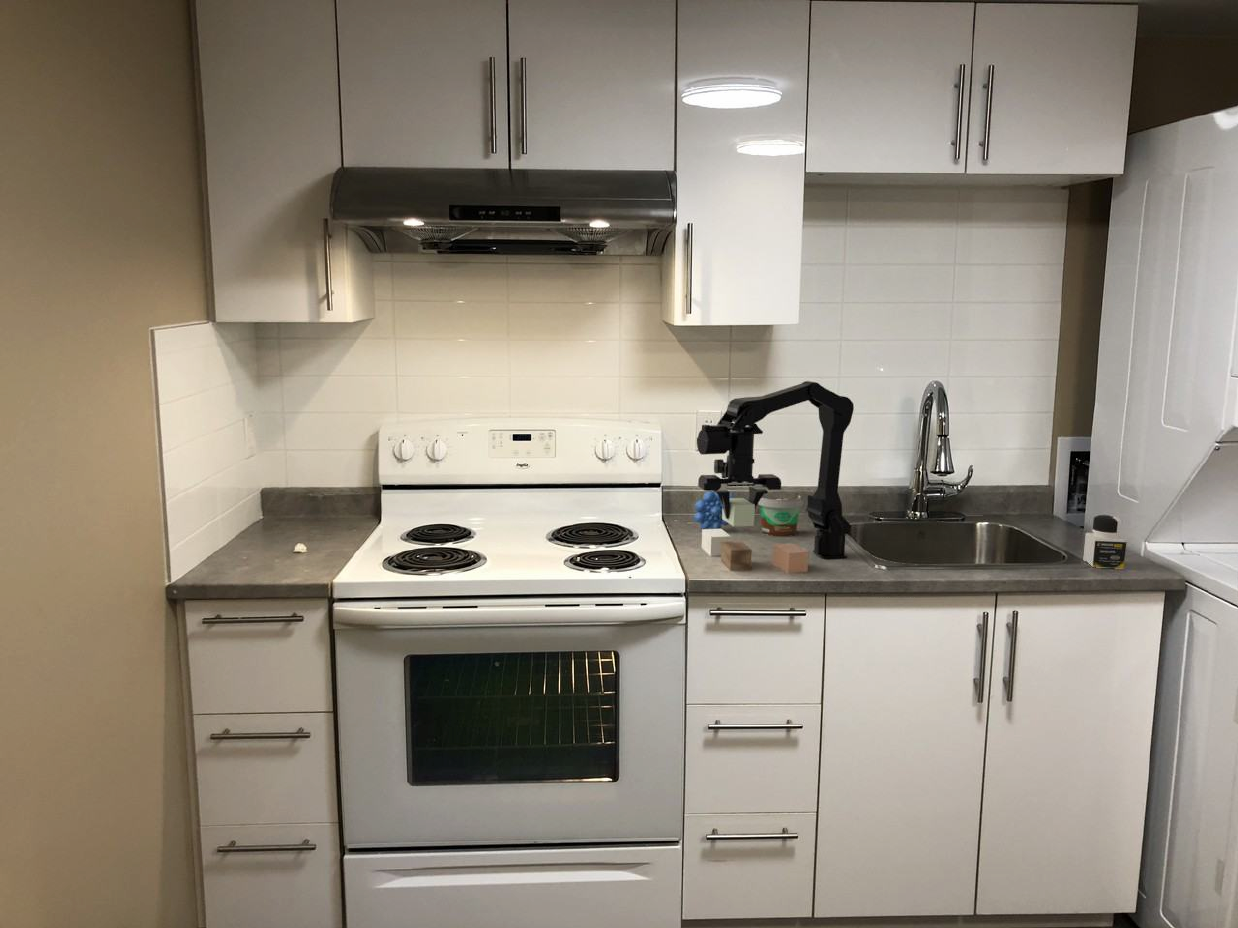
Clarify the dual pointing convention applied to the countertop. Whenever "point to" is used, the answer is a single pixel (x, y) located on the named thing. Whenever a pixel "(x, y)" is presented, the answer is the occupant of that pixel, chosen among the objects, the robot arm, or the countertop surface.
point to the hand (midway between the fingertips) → (738, 518)
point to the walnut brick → (736, 555)
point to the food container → (780, 515)
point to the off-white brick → (714, 541)
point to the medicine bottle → (1105, 543)
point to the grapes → (710, 511)
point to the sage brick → (740, 512)
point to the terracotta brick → (790, 558)
